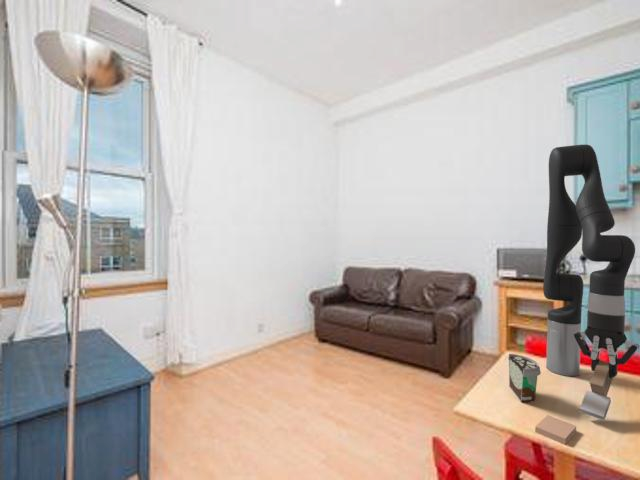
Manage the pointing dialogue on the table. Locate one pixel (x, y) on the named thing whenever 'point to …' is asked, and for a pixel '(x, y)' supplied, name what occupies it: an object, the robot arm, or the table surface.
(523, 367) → the food container
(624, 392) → the table surface
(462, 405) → the table surface
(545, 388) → the table surface
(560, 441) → the tile
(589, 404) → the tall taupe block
